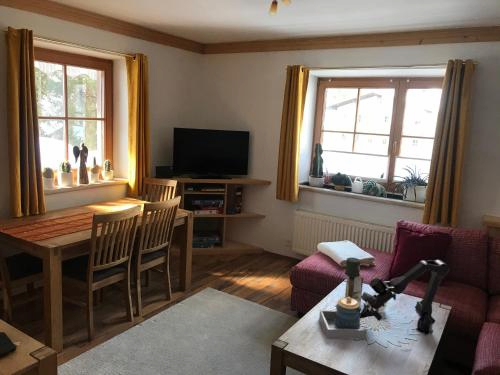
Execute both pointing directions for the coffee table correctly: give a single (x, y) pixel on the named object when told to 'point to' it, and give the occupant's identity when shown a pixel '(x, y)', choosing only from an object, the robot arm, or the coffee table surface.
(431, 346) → the coffee table surface
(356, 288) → the coffee box
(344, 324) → the canister
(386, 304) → the cup
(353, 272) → the stick grenade
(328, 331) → the corral
